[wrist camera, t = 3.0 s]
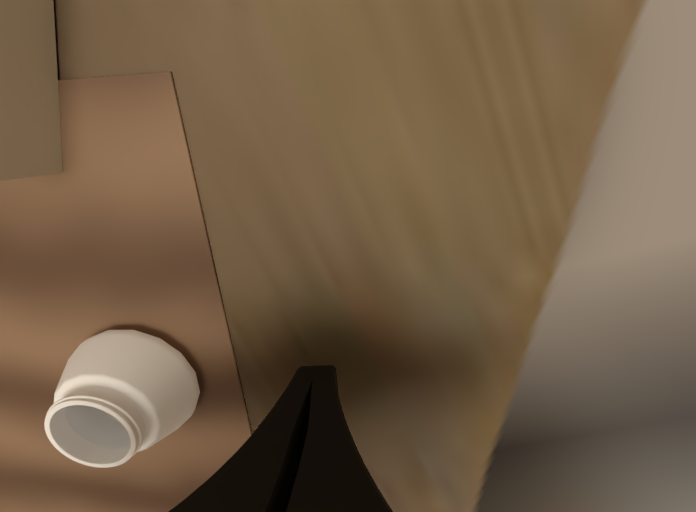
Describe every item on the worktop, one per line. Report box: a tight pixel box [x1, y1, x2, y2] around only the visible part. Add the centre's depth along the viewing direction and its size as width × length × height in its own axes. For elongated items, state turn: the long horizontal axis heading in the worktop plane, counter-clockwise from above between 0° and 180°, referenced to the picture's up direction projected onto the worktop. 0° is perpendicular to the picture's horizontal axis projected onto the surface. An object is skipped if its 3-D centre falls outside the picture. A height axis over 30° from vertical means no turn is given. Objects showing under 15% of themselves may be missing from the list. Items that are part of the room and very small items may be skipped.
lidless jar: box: [44, 330, 200, 468], centre depth 12 cm, size 5×3×5 cm
